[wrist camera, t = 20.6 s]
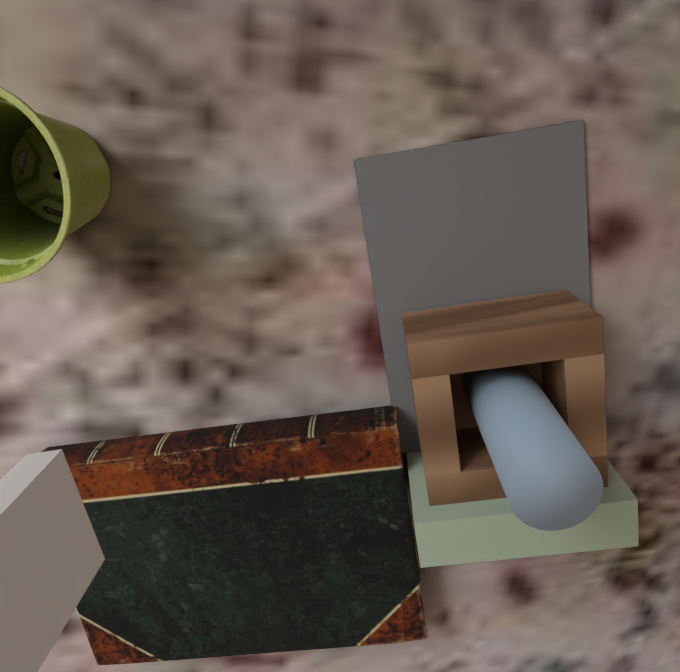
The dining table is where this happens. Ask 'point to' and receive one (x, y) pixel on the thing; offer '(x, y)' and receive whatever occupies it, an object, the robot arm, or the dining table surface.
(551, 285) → the runner mat
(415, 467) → the wall
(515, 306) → the socket block
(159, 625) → the book
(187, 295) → the dining table surface
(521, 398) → the dowel
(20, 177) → the plant pot
